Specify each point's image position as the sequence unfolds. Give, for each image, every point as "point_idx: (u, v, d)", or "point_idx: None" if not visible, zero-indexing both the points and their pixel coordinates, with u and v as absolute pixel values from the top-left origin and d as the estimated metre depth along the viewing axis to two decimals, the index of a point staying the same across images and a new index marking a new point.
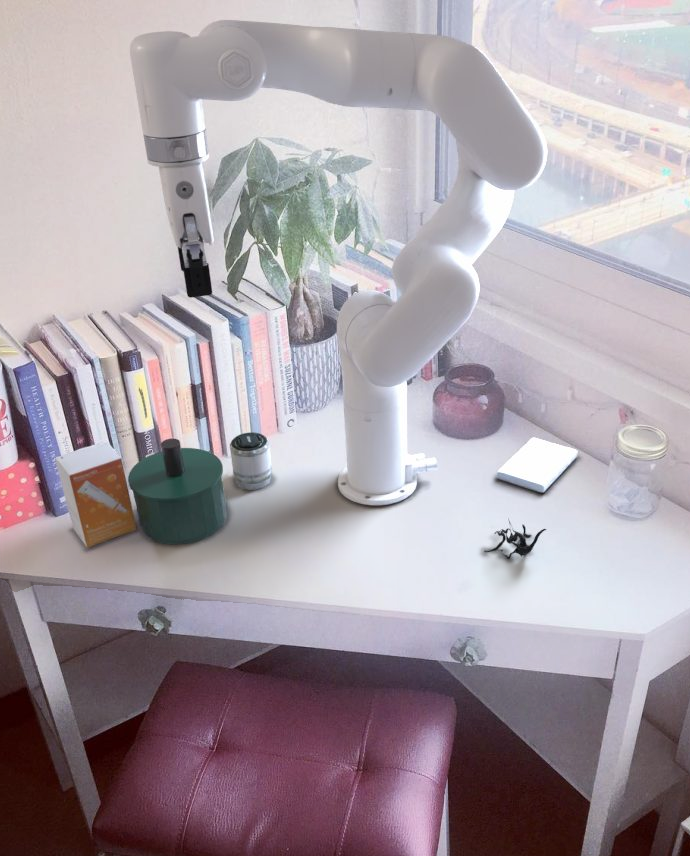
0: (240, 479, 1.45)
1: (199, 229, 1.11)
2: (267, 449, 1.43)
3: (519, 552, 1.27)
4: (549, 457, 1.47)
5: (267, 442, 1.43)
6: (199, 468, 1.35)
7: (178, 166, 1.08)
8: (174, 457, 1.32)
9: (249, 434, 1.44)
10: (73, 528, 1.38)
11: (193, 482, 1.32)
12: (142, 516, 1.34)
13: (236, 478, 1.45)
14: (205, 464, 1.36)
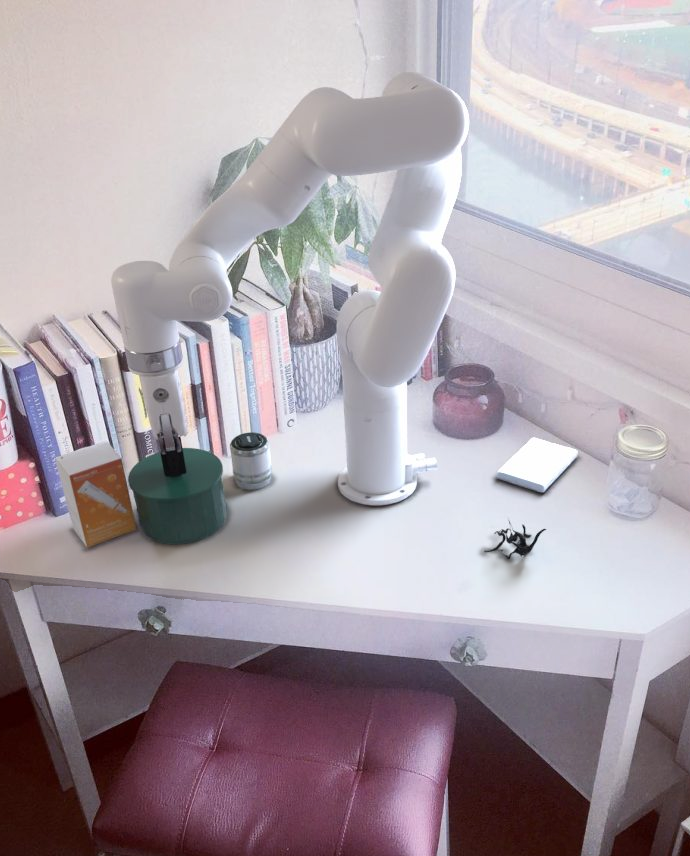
0: (240, 479, 1.45)
1: (174, 426, 1.25)
2: (267, 449, 1.43)
3: (519, 552, 1.27)
4: (549, 457, 1.47)
5: (267, 442, 1.43)
6: (199, 468, 1.35)
7: (155, 375, 1.21)
8: None
9: (249, 434, 1.44)
10: (73, 528, 1.38)
11: (193, 482, 1.32)
12: (142, 516, 1.34)
13: (236, 478, 1.45)
14: (205, 464, 1.36)
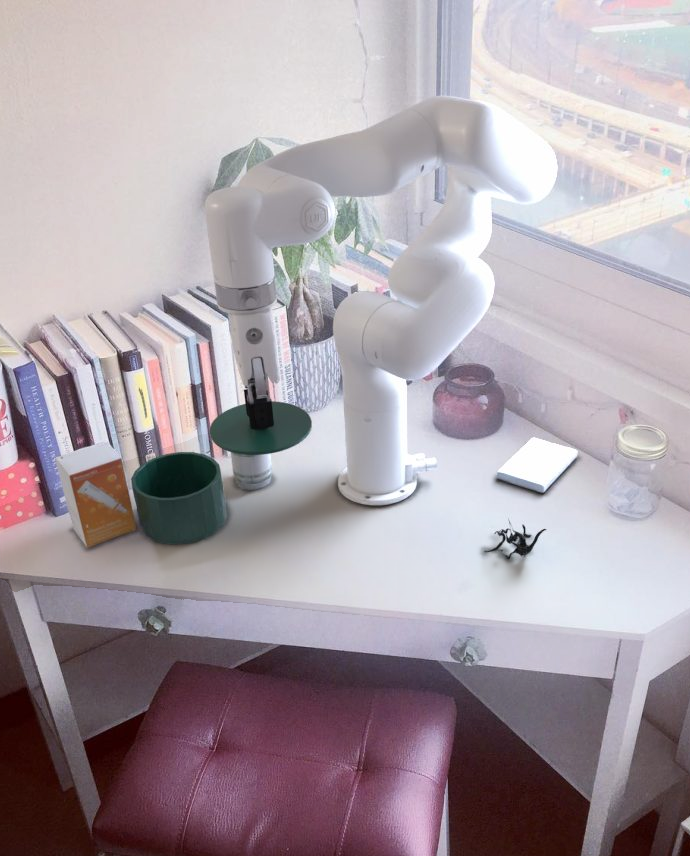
0: (240, 479, 1.45)
1: (267, 371, 1.14)
2: None
3: (519, 552, 1.27)
4: (549, 457, 1.47)
5: None
6: (286, 421, 1.25)
7: (248, 314, 1.11)
8: None
9: None
10: (73, 528, 1.38)
11: (281, 435, 1.22)
12: (142, 516, 1.34)
13: (236, 478, 1.45)
14: (292, 417, 1.25)
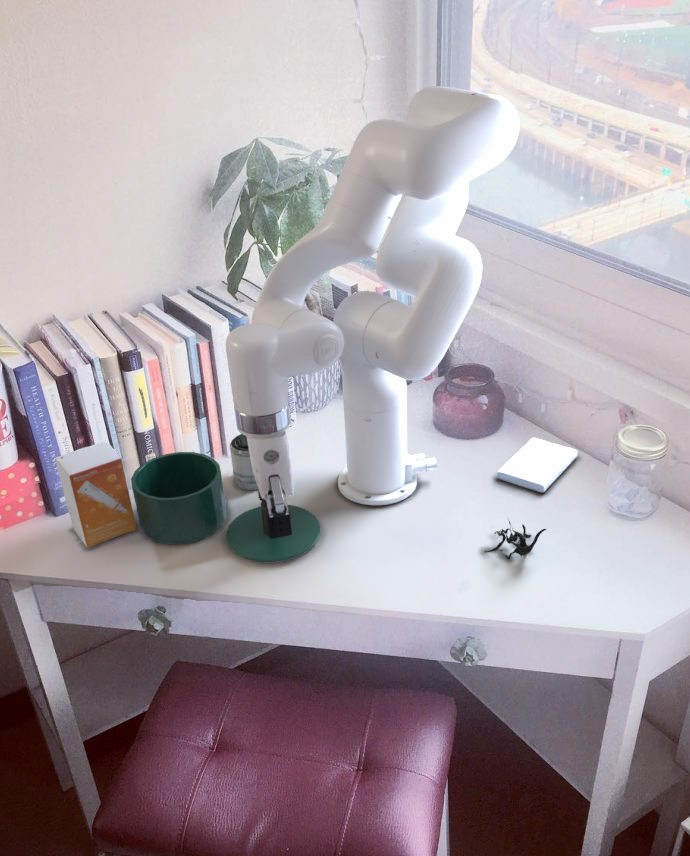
0: (240, 479, 1.45)
1: (283, 486, 1.24)
2: None
3: (519, 552, 1.27)
4: (549, 457, 1.47)
5: None
6: (296, 526, 1.35)
7: (266, 437, 1.21)
8: None
9: None
10: (73, 528, 1.38)
11: (293, 542, 1.32)
12: (142, 516, 1.34)
13: (236, 478, 1.45)
14: (302, 522, 1.35)
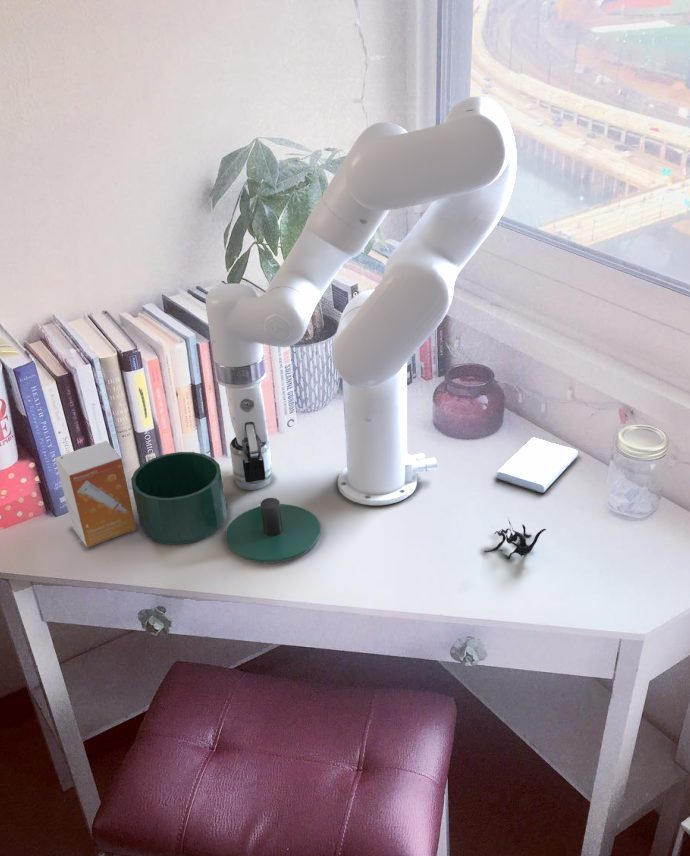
0: (240, 479, 1.45)
1: (257, 433, 1.37)
2: (267, 449, 1.43)
3: (519, 552, 1.27)
4: (549, 457, 1.47)
5: (267, 442, 1.43)
6: (296, 526, 1.35)
7: (242, 387, 1.34)
8: (274, 517, 1.31)
9: None
10: (73, 528, 1.38)
11: (293, 542, 1.32)
12: (142, 516, 1.34)
13: (236, 478, 1.45)
14: (302, 522, 1.35)
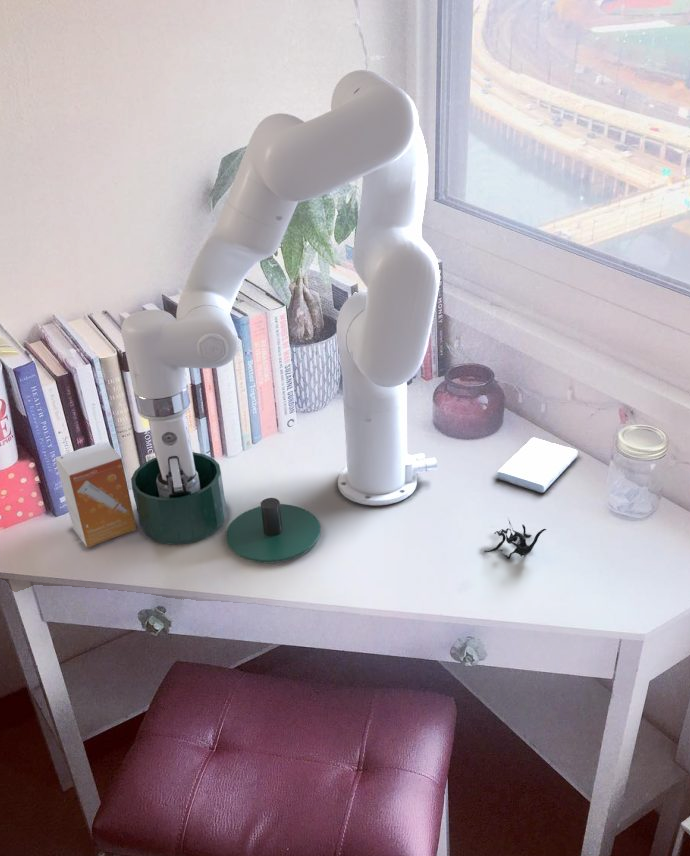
0: None
1: (182, 467, 1.29)
2: (195, 483, 1.35)
3: (519, 552, 1.27)
4: (549, 457, 1.47)
5: (196, 475, 1.35)
6: (296, 526, 1.35)
7: (163, 420, 1.25)
8: (274, 517, 1.31)
9: None
10: (73, 528, 1.38)
11: (293, 542, 1.32)
12: (142, 516, 1.34)
13: None
14: (302, 522, 1.35)
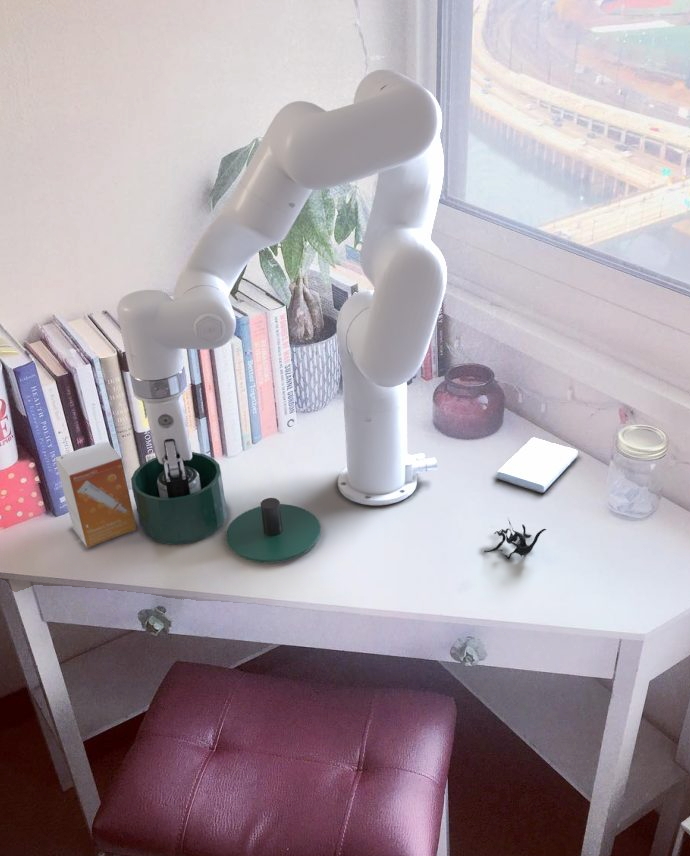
0: None
1: (179, 450, 1.27)
2: (196, 484, 1.34)
3: (519, 552, 1.27)
4: (549, 457, 1.47)
5: (197, 477, 1.35)
6: (296, 526, 1.35)
7: (160, 402, 1.24)
8: (274, 517, 1.31)
9: (178, 468, 1.36)
10: (73, 528, 1.38)
11: (293, 542, 1.32)
12: (142, 516, 1.34)
13: None
14: (302, 522, 1.35)
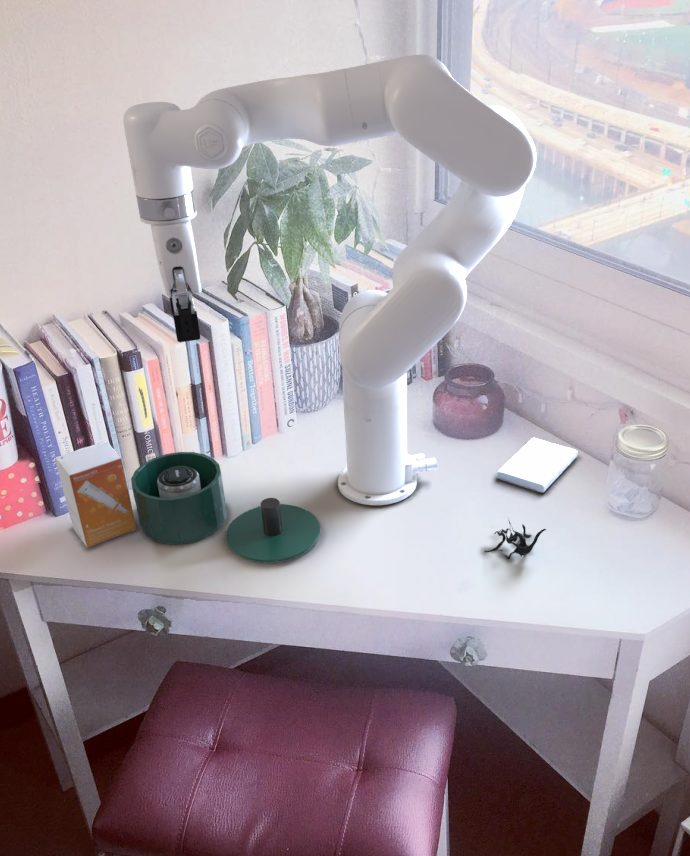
0: None
1: (188, 281, 1.21)
2: (196, 484, 1.34)
3: (519, 552, 1.27)
4: (549, 457, 1.47)
5: (197, 477, 1.35)
6: (296, 526, 1.35)
7: (168, 224, 1.17)
8: (274, 517, 1.31)
9: (178, 468, 1.36)
10: (73, 528, 1.38)
11: (293, 542, 1.32)
12: (142, 516, 1.34)
13: None
14: (302, 522, 1.35)
